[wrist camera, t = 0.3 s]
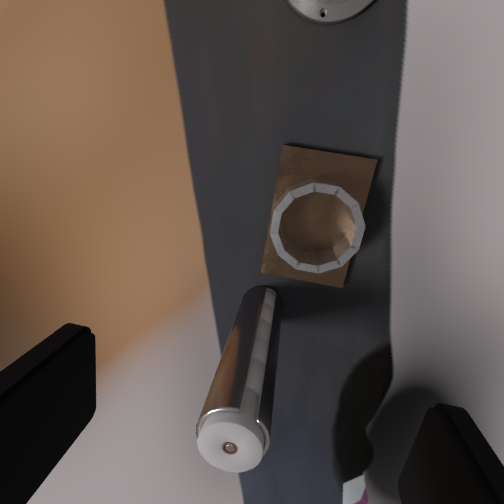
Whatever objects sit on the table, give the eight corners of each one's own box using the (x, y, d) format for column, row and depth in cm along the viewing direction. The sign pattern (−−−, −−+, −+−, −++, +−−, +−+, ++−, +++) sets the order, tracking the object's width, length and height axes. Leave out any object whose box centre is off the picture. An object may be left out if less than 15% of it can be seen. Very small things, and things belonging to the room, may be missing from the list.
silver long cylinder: (290, 312, 49) (283, 464, 25) (255, 328, 51) (219, 485, 27) (268, 278, 48) (240, 407, 24) (234, 296, 49) (176, 432, 26)
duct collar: (283, 144, 41) (280, 144, 35) (374, 159, 40) (388, 161, 34) (261, 268, 47) (256, 286, 41) (340, 283, 46) (347, 304, 40)
